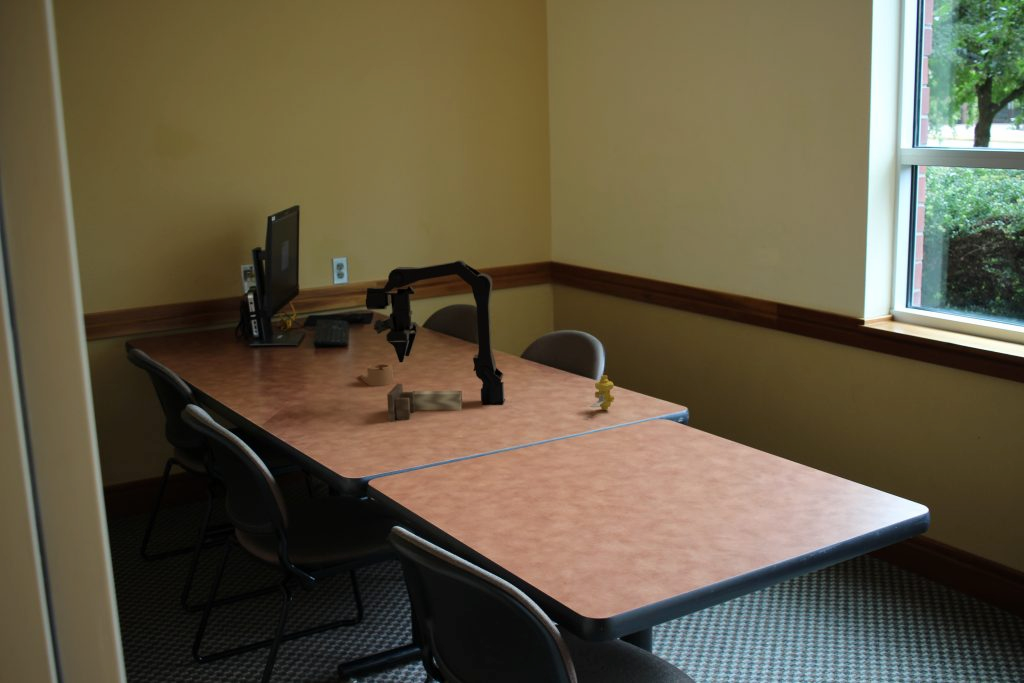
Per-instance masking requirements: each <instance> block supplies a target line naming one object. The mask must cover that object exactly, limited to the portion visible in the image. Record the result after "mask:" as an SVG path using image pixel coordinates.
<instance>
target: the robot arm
mask: <svg viewBox="0 0 1024 683" xmlns="http://www.w3.org/2000/svg"><path fill="white" fill-rule="evenodd" d="M454 275H457V276H458V277H459V278H461V279H462V281H464V282H465V283H466V284H468V285H469V286H470V287H471V290H472V294H473V295H472V296H473V299H474V301H475V306H476V320H477V338H478V339H477V342H478V354H477V353H475V354H474V356H473V357H472V360H473V365H474V366H473V370H472V371H473V372H475V375H476V376H475V377H477V378H478V379H479V380H480V381H481V382H482V386H481V388H480V402H481V405H482V406H503V405H504V404H505V401H506V398H505V387H504V386H505V385H504V381H502V380H503V378H504V377H503V376H504V372H502V371H501V370H500V369H499V368H498V367H497V364H496V359H495V355H494V352H493V349H492V336H491V334H492V332H491V315H490V314H491V313H490V311H491V310H490V302H491V296H492V291H493V279H492V277H491V276H490V275H489V274H487V273H485V272H483V273H482V272H480V271H478V270H477V269H475V268H474V267H472V266H470V265H468V264H467V263H466V262H465V261H463V260H459V259H458V260H456V261H451V262H445V263H440V264H432V265H427V266H422V267H421V266H419V267H414V266H398V267H395V268H394V269H392V270H391V271H390V272H389V273H388V276H387V277H388V278H387V280H388V281H387V282H386V284H385V285H384V287H373V286H371V287H370V286H369V287H367V288H366V294H365V295H366V296H365V297H366V298H365V307H366V309H367V310H368V311H371V310H373V311H375V310H376V311H378V310H380V311H381V310H387V309H388V307H389V306H391V313H390V314H389V317H387V318H385V319H382V318H379V319H377V320H375V322H374V323H373V330H374V331H376V334H377V335H380V334H382V333H383V332H385V331H387V330H389V332H388V333H386V336H385V338H386V342H388V344H390V345H392V346H393V348H394V350H395V353H396V354H395V355H396V356H397V359H398V360H397V361H398V362H399V363H403V362H404V360H405V358H406V357H409V356H410V355H411V352H412V350H413V345H414V342H415V340H416V337H417V335H418V331H419V325H418V324H417V322H416V321H412V315H413V310H411V309H412V308H411V296H410V295H415V294H416V293H417V290H415V288H413V287H412V285H411V284H414V283H417V282H420V281H422V280H429V279H436V278H443V277H447V276H454ZM405 286H407V287H406V288H403V287H405ZM395 288H397V290H396V291H393V290H394V289H395Z"/></svg>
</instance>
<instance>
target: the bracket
mask: <svg viewBox="0 0 1024 683" xmlns="http://www.w3.org/2000/svg"><path fill="white" fill-rule="evenodd" d="M366 368H367V370H366V371H363V372H361V373H360V379H361V378H362V379H363V380H362V379H361V380H362V381H363V382H365V383H366V384H367V385H368V386H370V387H385V386H386V387H387V386H390V385H393V384H394V378H393V365H392V364H390V363H376V366H375V365H374V364H370V365H367V366H366Z"/></svg>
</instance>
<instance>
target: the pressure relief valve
mask: <svg viewBox="0 0 1024 683" xmlns="http://www.w3.org/2000/svg"><path fill="white" fill-rule="evenodd" d="M594 387H595V389H596V390H598V391H595V392H594V397H595V399H598V400H597V401H596V402H594V403H591V404H590V405H589V407H591V408H599V407H600V408H601V410H604V411H607V410H608V409H609V407H611V405H612V403H614V400H615V396H614V395H611V390H613V389H614V383H613V381H611V380H609V379H608V375H605V374H604V375H603V374H602V375H601V376H600V380H599V381H596V382H595V383H594Z"/></svg>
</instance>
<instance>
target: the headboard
mask: <svg viewBox="0 0 1024 683" xmlns="http://www.w3.org/2000/svg"><path fill="white" fill-rule="evenodd" d="M386 396H387V414H388V423H389V422H391V423H392V422H393V423H394V422H395V421H396V420H399V421H401V420H410V419H411V414H414V413H416V410H415V397H414V392H413V391H403V383H396V384H395V385H394V387H393V388H392V389H391V390H390V391H389V392H388V393H387V394H386Z"/></svg>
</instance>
